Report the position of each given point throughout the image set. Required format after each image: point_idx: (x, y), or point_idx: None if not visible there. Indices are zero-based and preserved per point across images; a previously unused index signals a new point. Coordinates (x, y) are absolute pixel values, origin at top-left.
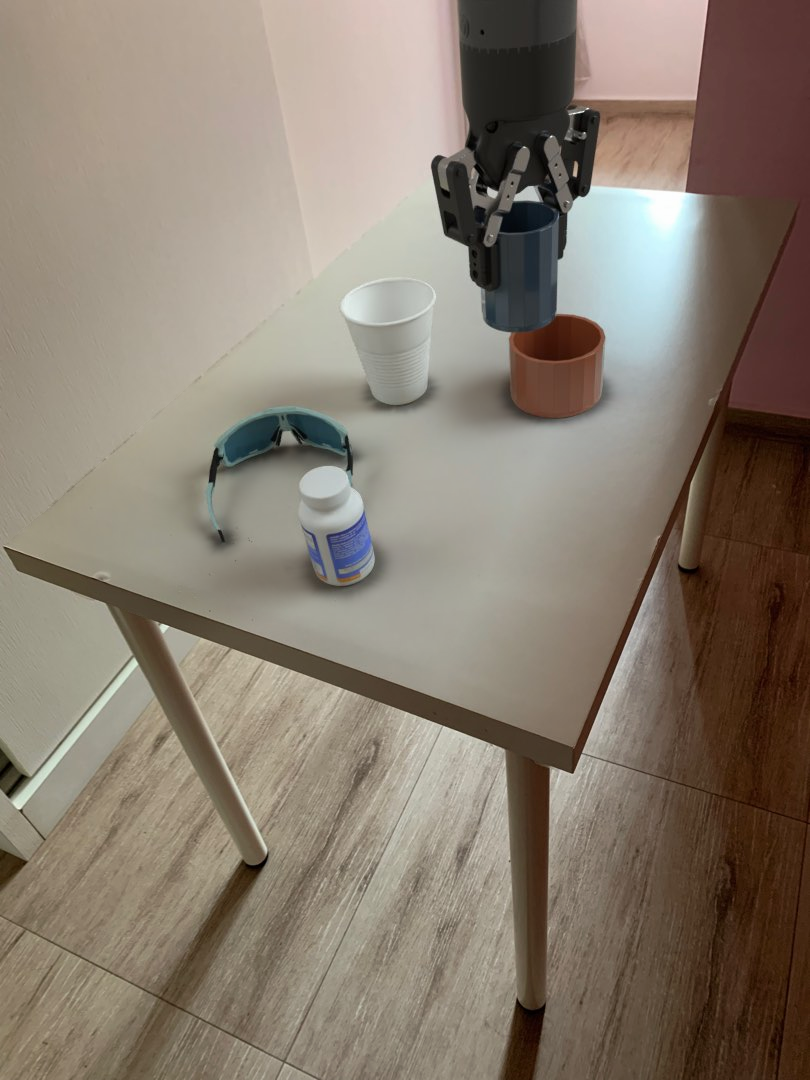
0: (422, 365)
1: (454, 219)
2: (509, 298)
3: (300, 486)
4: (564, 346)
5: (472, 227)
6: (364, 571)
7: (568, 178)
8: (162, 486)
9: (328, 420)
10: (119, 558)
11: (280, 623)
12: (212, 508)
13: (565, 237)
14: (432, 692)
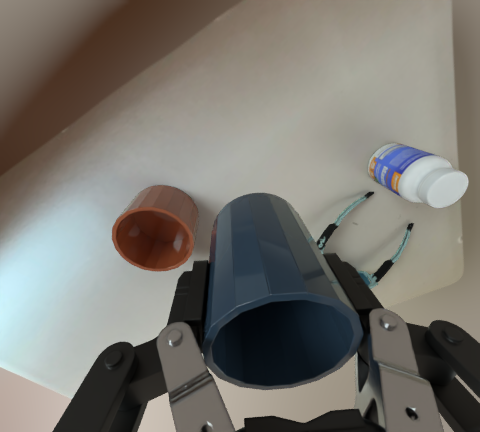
0: None
1: (442, 391)
2: (310, 234)
3: (460, 197)
4: (138, 242)
5: (466, 358)
6: (393, 144)
7: (173, 407)
8: (392, 278)
9: None
10: (446, 245)
11: (446, 145)
12: (400, 247)
13: (179, 286)
14: (451, 12)
